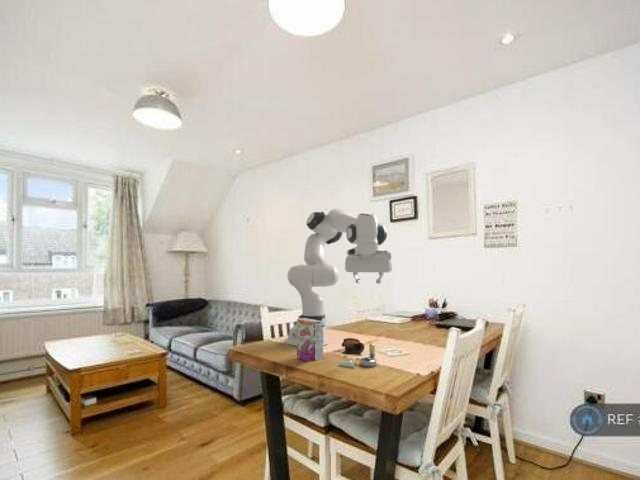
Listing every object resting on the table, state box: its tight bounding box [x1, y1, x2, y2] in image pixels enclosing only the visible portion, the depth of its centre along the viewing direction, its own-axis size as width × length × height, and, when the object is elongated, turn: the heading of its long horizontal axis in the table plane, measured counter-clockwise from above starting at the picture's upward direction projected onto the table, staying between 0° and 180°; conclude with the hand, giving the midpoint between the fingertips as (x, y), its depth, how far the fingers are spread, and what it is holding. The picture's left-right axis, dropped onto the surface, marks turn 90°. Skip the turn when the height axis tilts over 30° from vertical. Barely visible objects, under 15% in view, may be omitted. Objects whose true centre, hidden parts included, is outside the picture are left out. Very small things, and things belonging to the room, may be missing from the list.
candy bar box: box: [296, 318, 324, 363], centre depth 134 cm, size 11×5×16 cm, turn 44°
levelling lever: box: [359, 343, 378, 368], centre depth 124 cm, size 10×6×6 cm, turn 157°
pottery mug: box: [340, 337, 365, 355], centre depth 141 cm, size 12×10×8 cm
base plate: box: [339, 360, 358, 369], centre depth 122 cm, size 22×19×4 cm
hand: (368, 283), depth 138 cm, fingers open, 8 cm apart
